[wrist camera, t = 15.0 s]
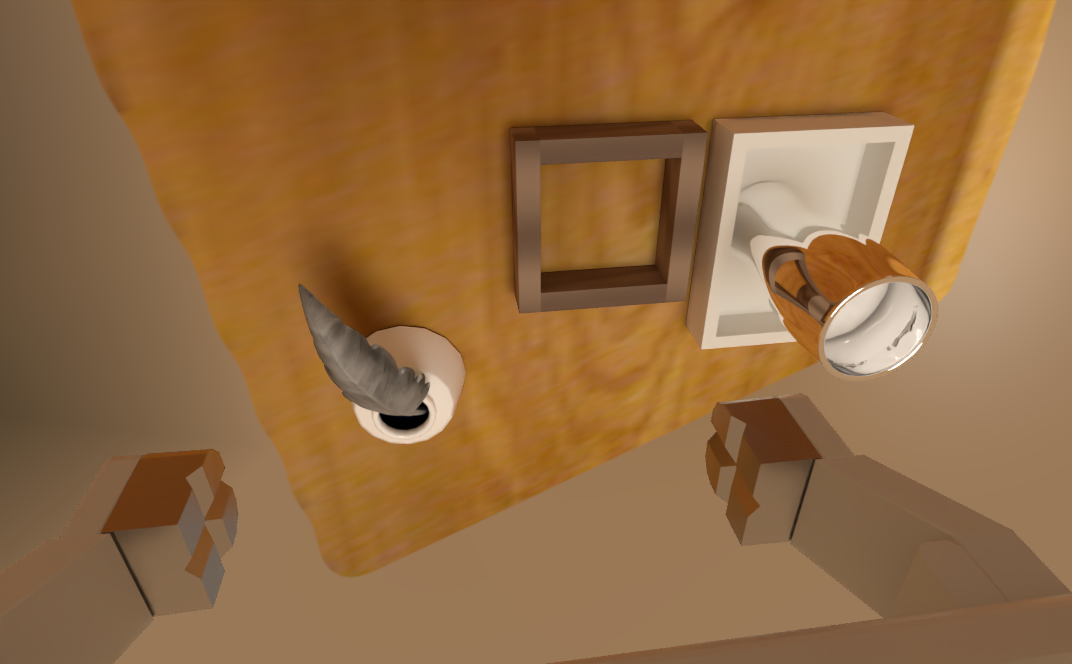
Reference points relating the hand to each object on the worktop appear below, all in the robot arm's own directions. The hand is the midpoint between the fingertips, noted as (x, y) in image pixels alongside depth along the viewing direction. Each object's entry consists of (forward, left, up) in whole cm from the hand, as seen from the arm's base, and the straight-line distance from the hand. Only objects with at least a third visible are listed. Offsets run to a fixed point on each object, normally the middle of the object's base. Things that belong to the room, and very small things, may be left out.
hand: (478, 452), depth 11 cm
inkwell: (+18, -6, -34) cm, 40 cm away
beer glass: (+11, +22, -34) cm, 42 cm away
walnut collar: (+10, +10, -34) cm, 37 cm away
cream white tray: (+12, +23, -34) cm, 43 cm away
